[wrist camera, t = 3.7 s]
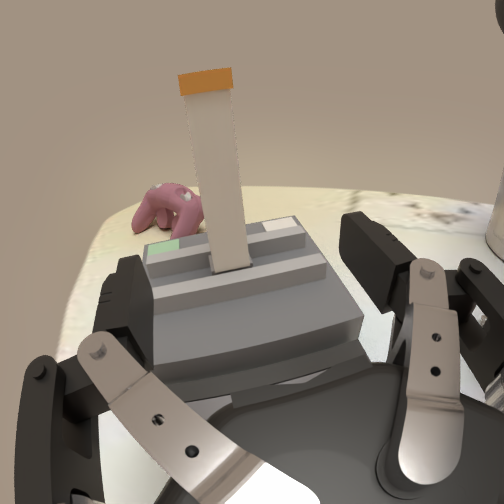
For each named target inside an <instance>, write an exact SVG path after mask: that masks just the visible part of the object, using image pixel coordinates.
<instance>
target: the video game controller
mask: <svg viewBox="0 0 504 504" xmlns="http://www.w3.org/2000/svg"><path fill="white" fill-rule="evenodd" d="M173 211H174V212H175V213H177V215H176V216H175V217H174V213H173ZM156 216H157V223H158V226H159V227H160V228H171V227H172V231H173V233H172V235H171V238H170V240H171V239H176V238H181V237H185V236H190V235H195V234H196V232H197V230H198V227H199V225H200V223H201V222H202V221H203V219H204V214H203V209H202V203H201V198H200V196H197V195H195V194H194V193H193V192H192V191H191V190H190V189H189V188H187V187H185V186H183V185H180V184H174V183H165V184H159V185H157V186H154V185H152V186H151V188H150V190H149V191H148V192H147V193H146V195H145V197H144V199H143V201H142V203H141V205H140V206H139V208H138V210H137V211H136V213H135V215H134V217H133V219H132V230H133V231H134V232H135V233H140V232H142V231H144V230H145V229H146V228H147V227H148V226H149V225H150V224H151V222H152V221H153V220H154V218H155V217H156Z"/></svg>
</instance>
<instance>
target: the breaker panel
mask: <svg viewBox="0 0 504 504" xmlns="http://www.w3.org/2000/svg"><path fill="white" fill-rule="evenodd" d="M245 226H246V235H247V243H248V252H249V255H250V257H251V260H252V262H253V267H252V268H248V269H243V270H238V271H233V272H228V273H224V274H219V275H214V276H212V272H211V267H210V262H209V256H208V255H211V250H210V245H209V240H208V235H207V232H205V233H200V234H195V235H190V236H185V237H181V238H176V239H171V240H166V241H161V242H157V243H152V244H147V245H145V246H144V253H143V260H142V263H143V266H144V269H145V271H146V274H147V277H148V279H149V282H150V284H151V287H152V291H153V297H154V320H153V354H154V370H151V371H150V372H152V373H153V374H154V375H155V376H156V377H157V378H158V379H159V380H160V381H161V382H162V383H163V384H164V385H171V384H178V383H184V382H190V381H196V380H202V379H207V378H212V377H218V376H223V375H228V374H232V373H237V372H242V371H246V370H250V369H255V368H259V367H263V366H267V365H271V364H275V363H279V362H283V361H287V360H290V359H294V358H298V357H301V356H305V355H308V354H312V353H315V352H319V351H322V350H325V349H328V348H332V347H335V346H338V345H341V344H344V343H347V342H350V341H353V340H356V339H358V337H359V333H360V330H361V326H362V322H363V319H364V314H363V312H362V311H361V309H360V308H359V306H358V305H357V303H356V302H355V300H354V299H353V297H352V296H351V294H350V293H349V291H348V290H347V288H346V287H345V285H344V284H343V283H342V281H341V280H340V278H339V277H338V275H337V274H336V272H335V271H334V270H333V268H332V267H331V265H330V264H329V262H328V261H327V260H326V258H325V257H324V255H323V254H322V252H321V251H320V250H319V248H318V247H317V245H316V244H315V243H314V241H313V240H312V239H311V237H310V236H309V234H308V233H307V232H306V230H305V229H304V228H303V226H302V225H301V223H300V222H299V221H298V219H297V218H296V217H295V215H294V216H289V217H283V218H278V219H272V220H267V221H262V222H256V223H251V224H246V225H245ZM147 372H148V371H147Z"/></svg>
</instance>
